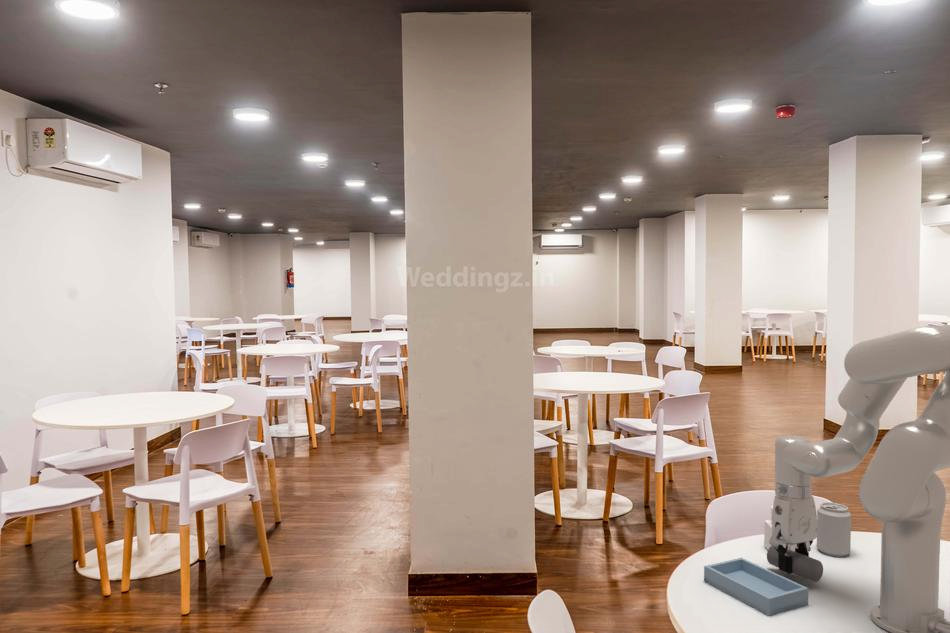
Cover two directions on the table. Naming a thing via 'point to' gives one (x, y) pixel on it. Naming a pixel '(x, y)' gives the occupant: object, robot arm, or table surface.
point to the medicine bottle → (769, 533)
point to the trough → (756, 586)
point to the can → (834, 529)
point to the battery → (799, 564)
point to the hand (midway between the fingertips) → (793, 568)
